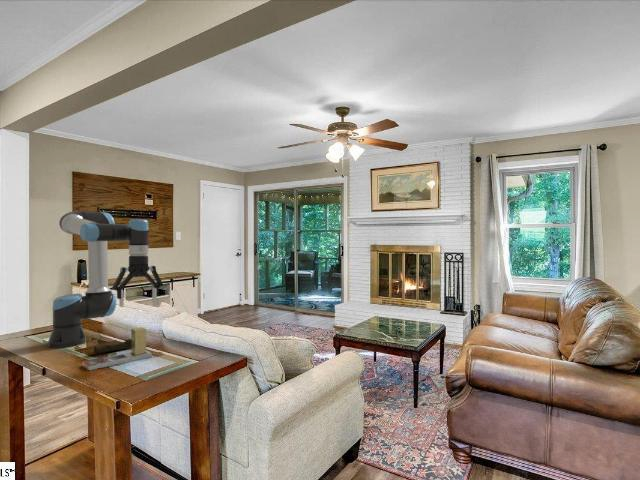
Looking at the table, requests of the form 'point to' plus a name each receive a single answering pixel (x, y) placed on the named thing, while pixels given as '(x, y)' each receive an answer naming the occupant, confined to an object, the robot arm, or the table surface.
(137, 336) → the brass post
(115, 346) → the hand tool
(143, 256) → the robot arm
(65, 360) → the table surface
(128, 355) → the triple square frame
